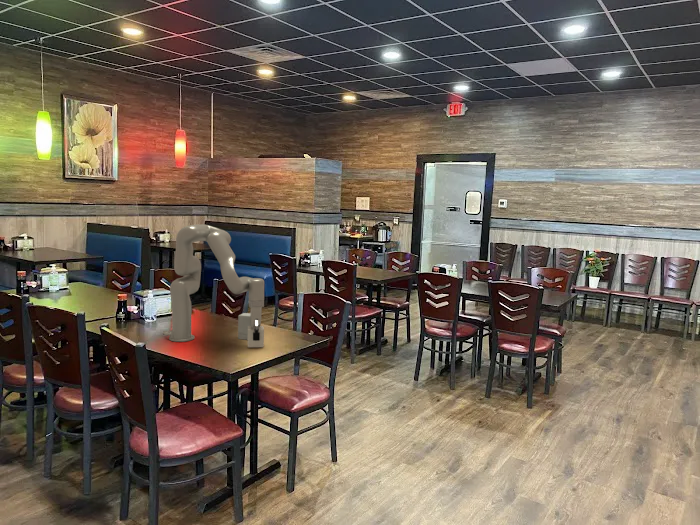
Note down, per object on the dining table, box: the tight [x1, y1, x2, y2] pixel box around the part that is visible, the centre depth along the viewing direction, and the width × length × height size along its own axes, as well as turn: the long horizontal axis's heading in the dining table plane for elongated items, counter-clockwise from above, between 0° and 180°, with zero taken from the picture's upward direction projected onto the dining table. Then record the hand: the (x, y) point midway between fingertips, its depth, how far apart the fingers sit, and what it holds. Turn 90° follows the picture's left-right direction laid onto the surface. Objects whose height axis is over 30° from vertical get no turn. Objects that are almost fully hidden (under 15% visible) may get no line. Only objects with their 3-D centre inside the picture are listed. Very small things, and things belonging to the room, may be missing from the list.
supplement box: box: [237, 312, 250, 341], centre depth 287 cm, size 7×7×13 cm
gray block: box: [247, 325, 265, 348], centre depth 272 cm, size 8×8×9 cm
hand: (255, 338), depth 272 cm, fingers closed on gray block, 7 cm apart
